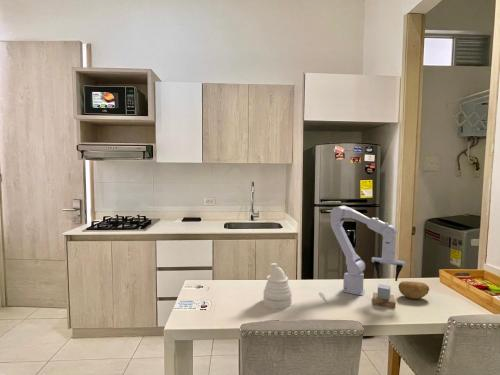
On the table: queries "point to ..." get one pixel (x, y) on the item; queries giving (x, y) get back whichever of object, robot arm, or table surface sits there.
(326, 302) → the butter knife
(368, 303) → the table surface
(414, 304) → the table surface
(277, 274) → the honey pot
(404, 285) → the potato
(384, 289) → the cube
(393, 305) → the walnut block
